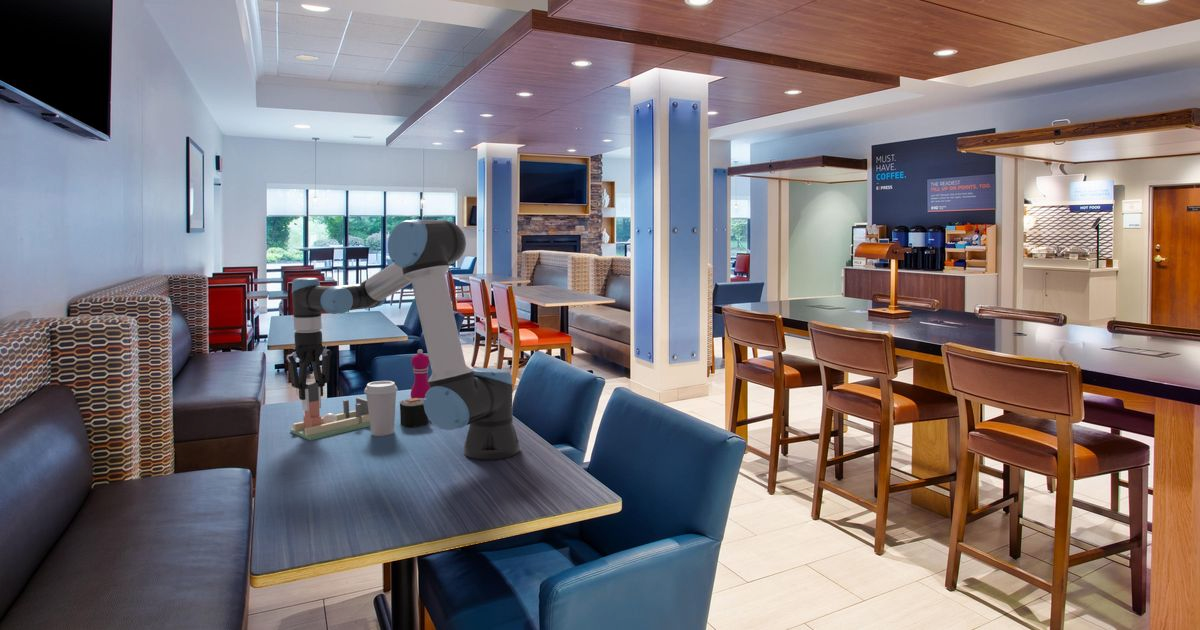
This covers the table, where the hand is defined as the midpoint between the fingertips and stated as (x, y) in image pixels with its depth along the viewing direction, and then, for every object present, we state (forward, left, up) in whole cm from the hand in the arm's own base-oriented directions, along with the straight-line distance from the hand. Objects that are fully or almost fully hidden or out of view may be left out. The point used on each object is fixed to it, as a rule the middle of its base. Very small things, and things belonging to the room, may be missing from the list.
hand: (311, 408), depth 212 cm
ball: (0, -6, -5) cm, 7 cm away
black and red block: (0, 0, -6) cm, 6 cm away
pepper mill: (+2, -40, -8) cm, 41 cm away
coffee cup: (-15, -14, -8) cm, 22 cm away
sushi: (-14, -26, -8) cm, 31 cm away
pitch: (0, -7, -8) cm, 10 cm away
